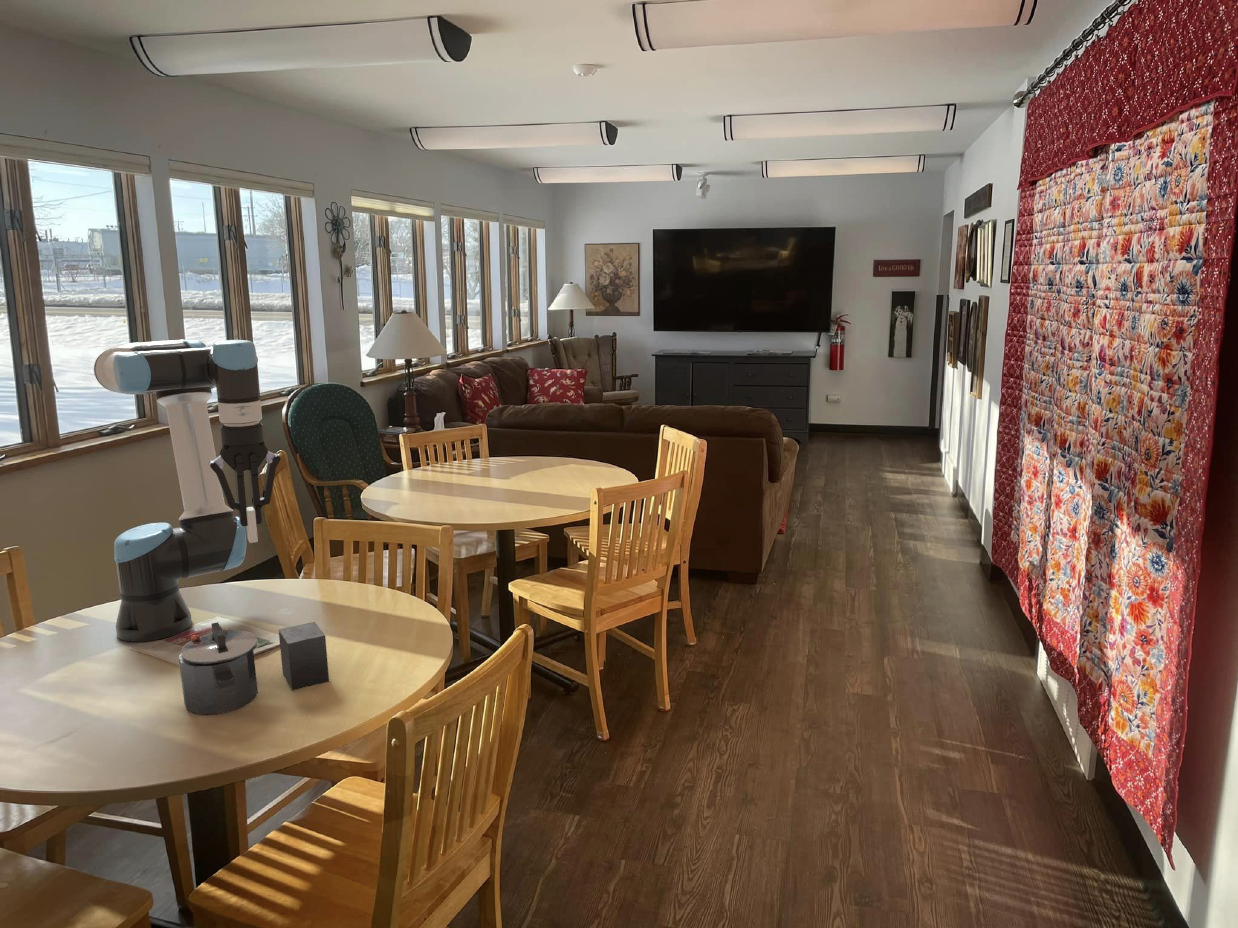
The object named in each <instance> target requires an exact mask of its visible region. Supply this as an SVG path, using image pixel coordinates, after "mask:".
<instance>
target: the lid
mask: <svg viewBox="0 0 1238 928" xmlns="http://www.w3.org/2000/svg"><path fill="white" fill-rule="evenodd" d="M211 631H212V632H209V633H205V634H203V635H200V633H193V634H191V635H190V640H189V641H188V642H186V643H184V645H183V646H182V647H181V649H180V654H182V658H183V659H184V660H185V661H187V662H190V663H196V664H213V663H220V662H226V661H230V660H233V659H236V658H239V657H242V656H244V655H246V654H248V653H250V652H251V651H252V650H254V651H255V649H256V647H257V646H258V637H257V635H256V634H255V633H254V632H251V631H248V630H241V629H240V630H239V629H230V630H229V629H228V630H223V629H222V627H221V625H220V623H219V621H218V622H212V623H211Z"/></svg>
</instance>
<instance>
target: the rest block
mask: <svg viewBox="0 0 1238 928" xmlns="http://www.w3.org/2000/svg"><path fill="white" fill-rule="evenodd" d="M278 637H279V639H278V640H279V649H280V658H281V659H280V660H281V669H282V676H283V677H284V679H285V681H286V683H287V684H288V686H289V687H290V689H291V691H296V690H300V689H305V688H308V687H312V686H316V685H320V684H324V683H328V682H330V676H329V675H330V674H329V662H328V652H327V641H326V640H327V639H326V635H325V633H324V632H323V630H322V629H321V628H320V626H319V625H318V624H317V622H315V621H313V622H307V623H302V624H297V625H294V626H287V627H283V628H279V629H278Z"/></svg>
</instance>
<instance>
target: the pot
mask: <svg viewBox="0 0 1238 928" xmlns="http://www.w3.org/2000/svg"><path fill="white" fill-rule="evenodd" d="M254 651H255V649H254V650H252V651H251V652H250V653H248V654H246V655H244V656H242V657H239V658H236V659H233V660H230V661H226V662H220V663H213V664H196V663H190V662H187V661H185V660H184V659H183V658H182V654H181V653H180V654H179V655H178V662H179V664H178V665H179V671H180V679H181V685H182V686H181V688H182V694H183V701H184V705H185V709H186V711H188V712H189V713H191V714H195V715H200V716H212V715H213V716H214V715H221V714H226V713H229V712H233V711H236V710H238V709H241V708H244V707H245V706H247V705H249V704H250V703H251V702H253V701H254V699H255V698H256V697H257V695H258V693H259V690H258V680H257V671H256V662H255V652H254Z"/></svg>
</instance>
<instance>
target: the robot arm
mask: <svg viewBox="0 0 1238 928" xmlns="http://www.w3.org/2000/svg"><path fill="white" fill-rule="evenodd" d="M258 361H259V358H258V356H257V349H256V345H255V343H254V342H253V341H252V340H247V339H245V340H243V339H228V340H227V339H224V340H218V341H216V342H214V343H213V344H212V345H211V344H210V345H206V344H205V343H204V342H203V341H201V340H197V339H182V338H181V339H175V340H174V339H172V340H158V341H157V340H156V341H145V342H128V343H123V344H119V345H116V346H113V347H110V348H108V349H106V350H103V352H102V353H100V354H99V355H98V356H97V357H96V358H95V361H94V364H93V374H94V377H95V379H96V380H97V382H98V383H99V385H100V386H102V387H103V388H104V389H106V390H108V391H110V392H112V393H113V392H114V393H117V394H123V395H124V394H125V395H149V394H150V395H151V394H155V397H156V403H158V404H160V405H161V406H163V408H164V409H165V411H166V415H167V416H166V417H167V422H168V426H169V427H168V429H169V432H170V439H171V444H172V445H171V446H172V449H173V455H174V460H175V465H176V467H175V468H176V471H177V476H178V484H179V487H180V495H181V499H182V504H183V509H184V511H183V512H182V514H181V515H180V516H179V518H178V523H179V526H177V527H173V526H172V525H171V524H170V523H168V522H162V521H160V522H151V523H147V524H142V525H138V526H135V527H133V528H130V529H128V530H125V531H124V532H122V533H121V534H119V535H118V536H117V537H116V538H115V540H114V543H113V551H114V558H113V559H114V562H115V564H116V571H117V578H118V587H119V593H120V605H119V609H118V615H117V618H116V622H115V630H116V637H117V638H118V639H119V640H122V641H124V642H131V643H132V642H135V643H138V642H139V643H140V642H149V641H150V642H152V641H157V640H162V639H165V638H169V637H173V636H175V635H178V634H180V633H182V632H184V631H186V630H187V629H189V628H190V627H191V625H192V623H193V620H192V613H191V611H190V608H189V607H188V605H187V603H186V601H185V599H184V597H183V595H182V593H181V592H180V591H181V590H180V587H179V586H180V585H179V580H182V579H188V578H192V577H198V576H202V575H207V574H213V573H218V572H225V571H226V570H230V569H234V568H238V567H240V566H241V565H242V564H243V562H244V561H245V557H246V554H247V553H246V552H247V541H248V543H249V544H252V543H253V544H254V543H258V542H259V539H258V538H259V537H258V528H257V525H261V524H262V523H263V520H262V508H263V507H264V506H266V505H269V504H271V499H272V492H273V487H274V482H275V476H276V469H277V467H278V465H279V464H280V462H281V460H282V459H281V458H282V457H281V456H280V455H279V454H278V453H273V452H271V451H269V448H268V447H267V445H266V443H265V434H264V424H263V423H262V421H261V420H263V412H262V411H263V410H262V402H261V392H260V391H261V389H260V379H259V378H260V377H259V366H258ZM213 389H216V396H217V409H218V410H217V411H218V418H219V419H218V420H219V422H220V423H221V425H220V427H219V429H220V439H221V450H220V451H219V456H217V455H216V448H215V444H214V439H213V437H214V436H213V431H212V427H211V421H210V416H209V411H208V404H207V403H208V401H209V400H211V397H212V396H213V393H212V390H213ZM265 458H266V462H267V464H266V470H265V476H264V481H263V489H262V494H261V493H260V485H259V484H260V481H259V467H260V466H261V464H262V463H263V461H264V460H265ZM224 462H225V463H226V464H227V465H228V466H229V467H230V468H231V469H232V470H233V472H234V478H235V479H234V480H235V488H236V500H235V497H234V496H233V493H232V491H231V488H230V486H229V483H228V480H227V478H226V475H225V473H224V471H223V469H224ZM244 471H248V474H249V485H250V495H251V503H252V506H247V497H246V488H245V473H244ZM224 498H225V499H224ZM225 500H226V503H227V504H226V503H225ZM234 510H237V511H238V514H239V515H238V516H235V514H234Z"/></svg>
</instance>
